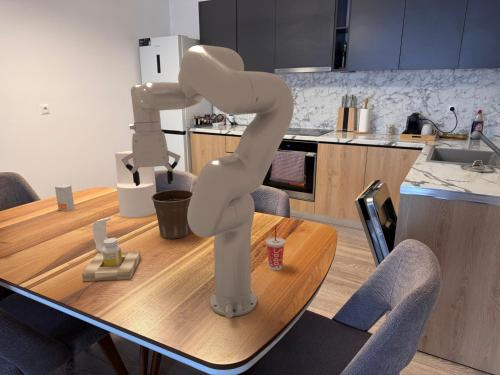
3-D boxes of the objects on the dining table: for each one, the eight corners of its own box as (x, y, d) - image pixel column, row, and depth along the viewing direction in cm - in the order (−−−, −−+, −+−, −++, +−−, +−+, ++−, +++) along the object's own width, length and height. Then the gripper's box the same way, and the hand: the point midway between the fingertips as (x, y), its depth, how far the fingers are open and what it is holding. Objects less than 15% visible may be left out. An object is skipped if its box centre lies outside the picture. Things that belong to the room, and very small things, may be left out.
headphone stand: (102, 253, 124) (97, 221, 121) (94, 248, 128) (90, 217, 125) (114, 248, 127) (110, 217, 124) (107, 244, 131) (103, 214, 128)
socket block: (130, 279, 107) (129, 271, 106) (82, 281, 106) (81, 273, 105) (140, 258, 120) (140, 251, 119) (98, 259, 119) (97, 253, 118)
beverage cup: (264, 270, 111) (265, 229, 107) (266, 261, 117) (266, 222, 113) (284, 272, 110) (285, 230, 106) (285, 262, 116) (285, 223, 112)
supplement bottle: (117, 262, 116) (113, 235, 114) (126, 267, 113) (123, 239, 110) (101, 269, 112) (97, 240, 110) (110, 274, 109) (106, 245, 106)
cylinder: (128, 205, 176) (122, 150, 169) (162, 205, 175) (157, 150, 168) (113, 217, 159) (106, 156, 152) (151, 217, 159) (146, 156, 151)
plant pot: (183, 244, 131) (180, 203, 127) (146, 238, 136) (142, 199, 132) (202, 228, 146) (200, 191, 142) (168, 224, 151) (166, 188, 147)
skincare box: (58, 210, 170) (54, 186, 166) (65, 207, 174) (61, 184, 170) (68, 211, 168) (64, 187, 165) (75, 208, 172) (71, 185, 169)
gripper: (114, 130, 99) (122, 188, 103) (176, 127, 101) (181, 185, 105) (121, 128, 107) (128, 183, 111) (178, 126, 108) (183, 180, 112)
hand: (154, 184), depth 108 cm, fingers open, 9 cm apart
